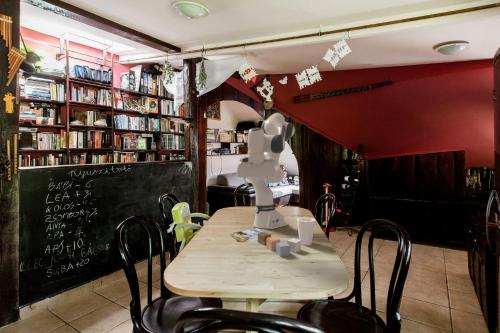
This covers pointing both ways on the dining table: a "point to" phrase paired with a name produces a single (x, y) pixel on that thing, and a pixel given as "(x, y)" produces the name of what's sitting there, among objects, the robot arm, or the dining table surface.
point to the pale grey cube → (294, 245)
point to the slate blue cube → (283, 249)
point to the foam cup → (305, 229)
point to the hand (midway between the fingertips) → (255, 185)
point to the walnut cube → (263, 237)
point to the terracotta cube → (272, 243)
